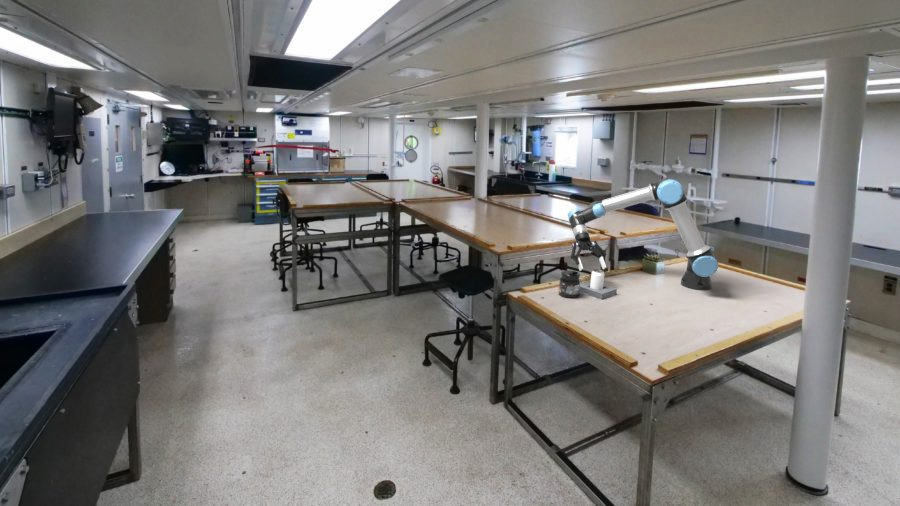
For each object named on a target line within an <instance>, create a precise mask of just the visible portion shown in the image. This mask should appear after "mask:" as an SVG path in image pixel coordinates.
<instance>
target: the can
mask: <svg viewBox="0 0 900 506" xmlns="http://www.w3.org/2000/svg"><path fill="white" fill-rule="evenodd" d="M590 280H591V284H590V288H592V289H595V290H601V289H603V285H605V284H604V282H605V270H604V269H600V268H593V269H592V272H591V277H590Z"/></svg>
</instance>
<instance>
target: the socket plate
mask: <svg viewBox="0 0 900 506" xmlns="http://www.w3.org/2000/svg"><path fill="white" fill-rule="evenodd" d="M590 284H591V279H590V280H589V281H585V282H582V283H580V289H579V293H582V294H584V295H588V296H591V297H593V298H597V299H599V300H604V299H607V298H609V297H612V296H616V295H617V292H618V289H617V288H615V287H612V286H609V285H606V284H603V289H601V290H595V289H592V288H590Z"/></svg>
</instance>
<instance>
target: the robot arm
mask: <svg viewBox="0 0 900 506" xmlns="http://www.w3.org/2000/svg"><path fill="white" fill-rule="evenodd" d="M648 201H654V202H655V201H660V203H661V204H662V207H663V209H664V210H666V211H668V212H669V215H670V216H671V219H672V220H673V223H674V225H675V226H676V230H677V232H678V234H679V235H680V237H681V239H682V242H683V243H684V246H685V248H686V250H687V253H686V258H687V266H686V271H685V272H684V274H683V276H682V277H681V279H680V285H682V286H683V287H686V288H688V289H691V290H699V291H708V290H711V289H712V278H711V276H713V275H714V274H715V273H716V272H717V271H718V269H719V262H718V260H717V258H716V257H715V255H714V253H715V247H713V246H710V245H707V244H705V242H704V239H703V238H702V235H701V234H700V230H699V229H698V226H697V224H696V223H695V221H694V220H695V219H694V218H693V216H692V215H691V212H690V210H689V208H688V206H687V201H688V198H687V195H686V194H685V192H684V187H683V186H682V184H681V183H680V182H679V181H678V180H677V179H676V178H672V177H665V178H662V179H661V180H658V181H655V182H653V183H649V184H648V185H647V186H645V187H641V188H638V189H635V190H631V191H628V192H625V193H621V194H619V195H615V196H612V197H608V198H606V199H602V200H598V201H593V202H591V203H589V205H588V207H587V208H585V209H582V210H581V209H579V208H574V209H571V210H569V211H568V212H567V216H568V222H569V224H570V227H571V230H572V233H573V236H574V240H575V241H573V242H572V244H571V245H572V246H571V247H572V249H571V254H570V259H571V260H573V261H574V262H575V264H576V265H577V267H578V270H579V272H582V270H583V269H584V267H583V264H582V261H581V258H580V257H579V256H580V254H581V253H582V251H584V252H585V251H589V252H592V254H594V255H595V256H597V257H598V258H599V259H598V260H599V263H600V265H601V268H602V269H601V270H605V269H606V268H607V264H606V258H605V257H606V256H607V253H606V252H605V251H604V249H603V248H602V247H601V246H600V245H599V244H598V242H597V240H594V241H591V237H590V234H589V232H588V228H587V226H586V225H587V224H588V223H590V222H592V221H594V220H597V219H600V218H602V217H604V216H605V215H606V213H609V212H614V211H616V210H620V209H623V208H627V207H631V206H634V205H638V204H642V203H646V202H648ZM577 248H578V249H577ZM576 249H577V252H576Z"/></svg>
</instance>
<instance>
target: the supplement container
mask: <svg viewBox="0 0 900 506" xmlns="http://www.w3.org/2000/svg"><path fill="white" fill-rule="evenodd" d="M558 283H559V284H558V294H559V295H560V296H561V297H563V298H567V299H574V298H575V299H576V298H577V297H579V295H580V292H579V289H580V284H581V273H580V271H576V270H572V269H569V270H568V269H567V270H566V269H565V270H562V271H561V272H560V277H559V282H558Z"/></svg>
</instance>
